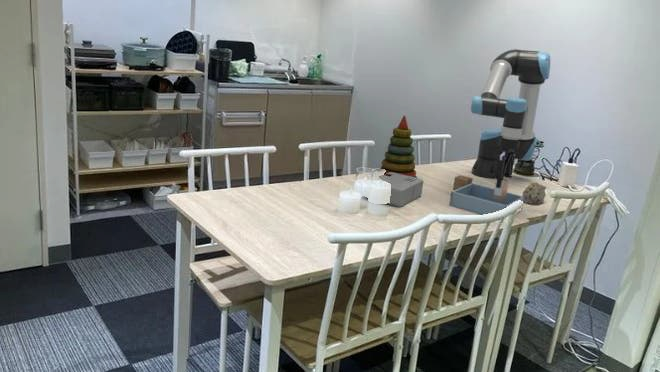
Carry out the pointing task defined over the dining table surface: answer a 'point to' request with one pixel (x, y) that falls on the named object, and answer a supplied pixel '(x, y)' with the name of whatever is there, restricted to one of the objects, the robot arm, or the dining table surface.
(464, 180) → the cube
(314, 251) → the dining table surface
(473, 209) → the tote
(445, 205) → the dining table surface
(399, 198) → the projector
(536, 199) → the rock
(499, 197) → the cylinder
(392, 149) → the toy
